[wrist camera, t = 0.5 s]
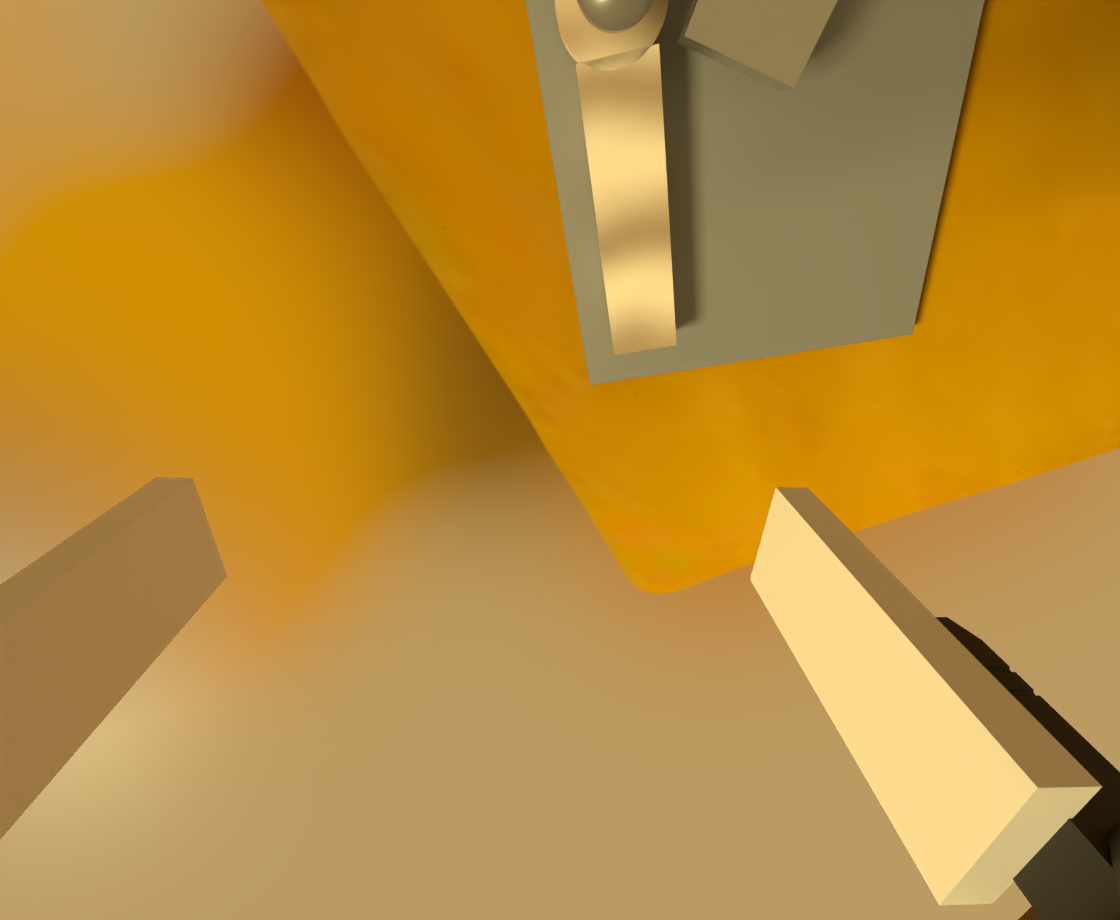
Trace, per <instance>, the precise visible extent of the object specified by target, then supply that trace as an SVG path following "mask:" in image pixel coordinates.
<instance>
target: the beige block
mask: <svg viewBox="0 0 1120 920" xmlns="http://www.w3.org/2000/svg"><path fill="white" fill-rule="evenodd" d="M653 1H654V0H577V3H578V5H579V8H580V10H581V12H582V14H583V15H584V17H585V18H586V20H587V21H588V22H589V23H590V24H591V25H592V26H594V27H595V28H596V29H598V30H600V31H602V32H605V33H610V34H617V33H622V32H625V31H628V30H629V29H631V28H633V27H634V26H636V25H637V24H638V23H639V22H640V21H641V20H642V19H643V18H644V16H645V15H646V14H647V12H648V11H649V9H650V7H651V5H652V3H653ZM837 1H838V0H693V3H692V5H691V8H690V11H689V13H688V16H687V19H686V22H685V24H684V27H683V30H682V32H681V35H680V38H679V40H678V44H681V45H683V46H685V47H687V48H689V49H691V50H693V51H695V52H697V53H700V54H702V55H704V56H706V57H708V58H710V59H712V60H714V61H716V62H719V63H721V64H723V65H725V66H727V67H729V68H731V69H733V70H735V71H738V72H740V73H742V74H744V75H746V76H748V77H750V78H752V79H754V80H756V81H759V82H761V83H763V84H765V85H767V86H769V87H771V88H773V89H775V90H778V91H780V92H781V91H786V90H790V89H794V88H795V86H796V84H797V82H798V80H799V78H800V75H801V73H802V71H803V69H804V67H805V65H806V63H807V61H808V59H809V57H810V55H811V53H812V51H813V49H814V47H815V45H816V43H817V41H818V39H819V37H820V35H821V33H822V31H823V29H824V27H825V25H826V23H827V21H828V19H829V17H830V15H831V13H832V11H833V9H834V7H835V5H836V3H837Z"/></svg>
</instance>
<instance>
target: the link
mask: <svg viewBox="0 0 1120 920" xmlns="http://www.w3.org/2000/svg"><path fill="white" fill-rule="evenodd" d="M668 1H669V0H654V1H653V3H652V5H651V7H650V9H649V11H648V12H647V14H646V15H645V16H644V18H643V19H642V20H641V21H640V22H639V23H638V24H637V25H636V26H634V27H633V28H631V29H629V30H628V31H625V32H622V33H617V34H610V33H605V32H602V31H600V30H598V29H596V28H595V27H594V26H592V25H591V24H590V23H589V22H588V21H587V20H586V18H585V17H584V15H583V14H582V12H581V10H580V8H579V5H578V3H577V0H555V10H556V17H557V22H558V27H559V32H560V36H561V39H562V42H563V44H564V46H565V48H566V50H567V52H568V54H569V55H570V56H571V58H572V59H573V60H574V61H575V62H576V63H577V64H576V74H577V81H578V89H579V96H580V104H581V111H582V119H583V126H584V134H585V142H586V149H587V157H588V164H589V172H590V179H591V187H592V194H593V202H594V209H595V217H596V225H597V232H598V240H599V247H600V255H601V262H602V270H603V277H604V285H605V292H606V300H607V307H608V315H609V323H610V330H611V338H612V345H613V351H614V355H620V354H626V353H632V352H638V351H644V350H650V349H656V348H662V347H668V346H674V345H676V328H675V310H674V293H673V275H672V258H671V241H670V223H669V206H668V189H667V171H666V154H665V137H664V119H663V102H662V85H661V67H660V50H659V44H655V45H652V44H653V43H654V41H655V40H656V38H657V36H658V34H659V32H660V30H661V28H662V25H663V23H664V19H665V16H666V12H667V7H668Z"/></svg>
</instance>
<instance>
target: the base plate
mask: <svg viewBox="0 0 1120 920" xmlns="http://www.w3.org/2000/svg"><path fill="white" fill-rule="evenodd" d="M692 3H693V0H669V1H668V7H667V12H666V16H665V19H664V23H663V25H662V28H661V30H660V32H659V34H658V36H657V38H656V40H655V41H654V43H653V44H652V45H655V44H659V50H660V67H661V85H662V102H663V119H664V137H665V154H666V171H667V189H668V206H669V223H670V241H671V258H672V275H673V293H674V310H675V328H676V345H674V346H668V347H662V348H656V349H650V350H644V351H638V352H632V353H626V354H620V355H614V351H613V345H612V338H611V330H610V323H609V315H608V307H607V300H606V292H605V285H604V277H603V270H602V262H601V255H600V247H599V240H598V232H597V225H596V217H595V209H594V202H593V194H592V187H591V179H590V172H589V164H588V157H587V149H586V142H585V134H584V126H583V119H582V111H581V104H580V96H579V89H578V81H577V74H576V64H577V63H576V62H575V61H574V60H573V59H572V58H571V56H570V55H569V54H568V52H567V50H566V48H565V46H564V44H563V42H562V39H561V36H560V32H559V27H558V22H557V17H556V10H555V0H526V4H527V10H528V16H529V22H530V28H531V34H532V40H533V46H534V52H535V58H536V64H537V70H538V76H539V82H540V88H541V94H542V100H543V106H544V112H545V118H546V124H547V130H548V136H549V142H550V148H551V154H552V160H553V166H554V172H555V178H556V184H557V190H558V196H559V202H560V208H561V214H562V220H563V226H564V232H565V238H566V244H567V250H568V256H569V262H570V268H571V274H572V280H573V286H574V292H575V298H576V304H577V310H578V316H579V322H580V328H581V334H582V340H583V346H584V352H585V358H586V364H587V370H588V376H589V382H590V385H594V384H600V383H607V382H613V381H619V380H626V379H632V378H638V377H645V376H651V375H657V374H664V373H670V372H676V371H683V370H689V369H695V368H702V367H708V366H714V365H721V364H727V363H733V362H740V361H746V360H752V359H759V358H765V357H771V356H778V355H784V354H790V353H797V352H803V351H809V350H816V349H822V348H829V347H835V346H841V345H848V344H854V343H860V342H867V341H873V340H879V339H886V338H892V337H898V336H905V335H911V334H913V329H914V324H915V320H916V315H917V310H918V306H919V301H920V297H921V292H922V287H923V283H924V278H925V273H926V269H927V264H928V260H929V255H930V250H931V246H932V241H933V236H934V232H935V227H936V222H937V218H938V213H939V209H940V204H941V199H942V195H943V190H944V185H945V181H946V176H947V172H948V167H949V162H950V158H951V153H952V148H953V144H954V139H955V134H956V130H957V125H958V121H959V116H960V111H961V107H962V102H963V97H964V93H965V88H966V84H967V79H968V74H969V70H970V65H971V60H972V56H973V51H974V46H975V42H976V37H977V33H978V28H979V23H980V19H981V14H982V9H983V5H984V0H838V1H837V3H836V5H835V7H834V9H833V11H832V13H831V15H830V17H829V19H828V21H827V23H826V25H825V27H824V29H823V31H822V33H821V35H820V37H819V39H818V41H817V43H816V45H815V47H814V49H813V51H812V53H811V55H810V57H809V59H808V61H807V63H806V65H805V67H804V69H803V71H802V73H801V75H800V78H799V80H798V82H797V84H796V86H795V88H794V89H790V90H786V91H781V92H780V91H778V90H775V89H773V88H771V87H769V86H767V85H765V84H763V83H761V82H759V81H756V80H754V79H752V78H750V77H748V76H746V75H744V74H742V73H740V72H738V71H735V70H733V69H731V68H729V67H727V66H725V65H723V64H721V63H719V62H716V61H714V60H712V59H710V58H708V57H706V56H704V55H702V54H700V53H697V52H695V51H693V50H691V49H689V48H687V47H685V46H683V45H681V44H678V40H679V38H680V35H681V32H682V30H683V27H684V24H685V22H686V19H687V16H688V13H689V11H690V8H691V5H692Z"/></svg>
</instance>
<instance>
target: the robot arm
mask: <svg viewBox="0 0 1120 920" xmlns="http://www.w3.org/2000/svg"><path fill="white" fill-rule="evenodd" d="M226 577H227V575H226V573H225V570H224V567H223V564H222V561H221V558H220V555H219V552H218V549H217V547H216V544H215V541H214V538H213V535H212V532H211V529H210V527H209V523H208V521H207V518H206V515H205V512H204V509H203V506H202V503H201V501H200V498H199V495H198V492H197V489H196V486H195V483H194V480H193V478H155V479H154V480H152V481H151V482H149V483H148V484H146V485H145V486H143V487H142V488H140V489H139V490H137V491H136V492H135V493H133V494H132V495H130V496H129V497H127V498H126V499H124V500H123V501H121V502H120V503H118V504H117V505H116V506H114V507H113V508H111V509H110V510H108V511H107V512H106V513H104V514H102V515H101V516H100V517H98V518H97V519H95V520H94V521H92V522H91V523H89V524H88V525H87V526H85V527H84V528H82V529H81V530H79V531H78V532H76V533H75V534H73V535H72V536H70V537H69V538H68V539H66V540H65V541H63V542H62V543H60V544H59V545H57V546H56V547H54V548H53V549H52V550H50V551H49V552H47V553H46V554H44V555H43V556H41V557H40V558H39V559H37V560H36V561H34V562H33V563H31V564H30V565H28V566H27V567H25V568H24V569H23V570H21V571H20V572H18V573H17V574H15V575H14V576H12V577H11V578H9V579H8V580H6V581H5V582H4V583H2V584H1V585H0V839H1V838H2V837H3V835H4V834H5V833H6V832H7V831H8V830H9V829H10V827H11V826H12V825H13V824H14V823H15V822H16V821H17V819H18V818H19V817H20V816H21V815H22V814H23V812H24V811H25V810H26V809H27V808H28V806H29V805H30V804H31V803H32V802H33V801H34V800H35V798H36V797H37V796H38V795H39V794H40V793H41V792H42V790H43V789H44V788H45V787H46V785H48V783H49V782H50V781H51V780H52V779H53V778H54V776H55V775H56V774H57V773H58V772H59V770H60V769H61V768H62V767H63V766H64V765H65V764H66V763H67V761H68V760H69V759H70V758H71V757H72V756H73V754H74V753H75V752H76V751H77V750H78V748H79V747H80V746H81V745H82V744H83V743H84V741H85V740H86V739H87V738H88V737H89V736H90V735H91V733H92V732H93V731H94V730H95V729H96V727H97V726H98V725H99V724H100V723H101V722H102V721H103V720H104V718H105V717H106V716H107V715H108V714H109V713H110V711H111V710H112V709H113V708H114V707H115V706H116V705H117V703H118V702H119V701H120V700H121V699H122V697H123V696H124V695H125V694H126V693H127V692H128V691H129V689H130V688H131V687H132V686H133V685H134V684H135V682H136V681H137V680H138V679H139V678H140V677H141V676H142V674H143V673H144V672H145V671H146V670H147V669H148V667H149V666H150V665H151V664H152V663H153V661H154V660H155V659H156V658H157V657H158V656H159V655H160V653H161V652H162V651H163V650H164V649H165V647H166V646H167V645H168V644H169V643H170V642H171V641H172V639H173V638H174V637H175V636H176V635H177V634H178V633H179V631H180V630H181V629H182V628H183V627H184V626H185V624H186V623H187V622H188V621H189V620H190V619H191V617H192V616H193V615H194V614H195V613H196V612H197V611H198V609H199V608H200V607H201V606H202V605H203V604H204V602H205V601H206V600H207V599H208V598H209V597H210V595H211V594H212V593H213V592H214V591H215V590H216V588H217V587H218V586H219V585H220V584H221V583H222V582H223V580H224V579H225V578H226ZM750 580H751V582H752V583H753V585H754V587H755V589H756V590H757V592H758V594H759V595H760V597H761V599H762V601H763V602H764V604H765V606H766V607H767V609H768V611H769V613H770V614H771V616H772V618H773V619H774V621H775V623H776V624H777V626H778V628H779V630H780V632H781V633H782V635H783V637H784V638H785V640H786V642H787V643H788V645H789V647H790V649H791V650H792V652H793V654H794V656H795V657H796V659H797V661H798V663H799V664H800V666H801V668H802V669H803V671H804V673H805V675H806V676H807V678H808V680H809V681H810V683H811V685H812V687H813V688H814V690H815V692H816V693H817V695H818V697H819V699H820V700H821V702H822V704H823V705H824V707H825V709H826V711H827V712H828V714H829V716H830V717H831V719H832V721H833V723H834V724H835V726H836V728H837V730H838V731H839V733H840V735H841V737H842V738H843V740H844V742H845V743H846V745H847V747H848V749H849V750H850V752H851V754H852V755H853V757H854V759H855V761H856V762H857V764H858V766H859V768H860V769H861V771H862V773H863V774H864V776H865V778H866V780H867V781H868V783H869V785H870V786H871V788H872V790H873V792H874V793H875V795H876V797H877V799H878V800H879V802H880V804H881V805H882V807H883V809H884V811H885V812H886V814H887V816H888V817H889V819H890V821H891V822H892V824H893V826H894V828H895V829H896V831H897V833H898V835H899V836H900V838H901V840H902V842H903V843H904V845H905V846H906V848H907V850H908V852H909V854H910V855H911V857H912V859H913V860H914V862H915V864H916V866H917V867H918V869H919V871H920V872H921V874H922V876H923V877H924V879H925V881H926V883H927V885H928V886H929V888H930V890H931V891H932V893H933V895H934V897H935V898H936V900H937V902H938V903H939V905H961V904H962V905H963V904H993V903H994V901H995V900H996V899H997V898H998V897H999V896H1000V895H1001V894H1002V893H1003V892H1004V891H1005V890H1006V889H1007V888H1008V887H1009V886H1010V884H1011V883H1012V882H1013V881H1014V882H1015V883H1016V884H1017V886H1018V887H1019V889H1020V890H1021V891H1022V893H1023V894H1024V896H1025V897H1026V898H1027V900H1028V901H1029V903H1030V904H1031V905H1032V907H1031V908H1030V909H1029V910H1028V911H1027V912H1026V913H1025V914H1024V915H1023V916H1022V917H1021V918H1019V919H1018V920H1120V772H1119V771H1118V770H1117V769H1116V768H1114V766H1113V765H1111V764H1110V763H1109V762H1108V761H1107V760H1106V759H1105V758H1104V757H1103V756H1102V755H1101V754H1100V753H1099V752H1098V751H1097V750H1096V749H1095V748H1094V747H1093V746H1092V745H1091V744H1090V743H1089V742H1088V741H1086V740H1085V739H1084V738H1083V737H1082V736H1081V735H1080V734H1079V733H1078V732H1077V731H1076V730H1075V729H1074V728H1073V727H1072V726H1071V725H1070V724H1069V723H1068V722H1067V721H1066V720H1065V719H1063V718H1062V717H1061V716H1060V715H1059V714H1058V713H1057V712H1056V711H1055V710H1054V709H1053V708H1052V707H1051V706H1050V705H1049V704H1048V703H1047V702H1046V701H1045V700H1044V699H1043V698H1042V697H1041V696H1036V695H1035V694H1034V693H1033V689H1032V688H1031V687H1030V686H1029V685H1028V684H1027V683H1026V682H1025V681H1024V680H1023V679H1022V678H1021V677H1020V676H1019V675H1018V674H1017V673H1015V672H1011V671H1010V669H1009V666H1008V665H1007V664H1006V663H1005V662H1004V661H1003V660H1002V659H1001V658H1000V657H999V656H998V655H997V654H995V652H993V650H992V649H990V647H988V646H987V645H986V644H985V643H984V642H983V641H982V640H981V639H979V638H977V637H976V636H974V635H973V634H972V633H970V632H969V631H967V630H966V629H964V628H963V627H961V626H960V625H958V624H957V623H955V622H953V621H952V620H950V619H949V618H947V617H934V615H933V614H932V613H931V612H930V611H929V610H928V609H927V608H926V607H925V606H924V605H923V604H922V603H921V602H920V601H919V600H918V599H917V598H916V597H915V596H914V595H913V594H912V593H911V592H910V591H909V590H908V589H907V588H906V587H905V586H904V585H903V584H902V583H901V582H900V581H899V580H898V579H897V578H896V577H895V576H894V575H893V574H892V573H891V572H890V571H889V570H888V569H887V568H886V567H885V566H884V565H883V564H882V563H881V562H880V561H879V560H878V559H877V558H876V557H875V556H874V555H873V554H872V553H871V552H870V551H869V549H868V548H867V547H865V545H864V544H863V543H862V542H861V541H860V540H859V539H858V538H857V537H856V536H854V534H853V533H852V532H851V531H850V530H849V529H848V528H847V527H846V526H845V525H844V524H843V523H842V522H841V521H840V520H839V519H838V518H837V517H836V516H835V515H834V514H833V513H832V512H831V511H830V510H829V509H828V508H827V507H826V506H825V505H824V504H823V503H822V502H821V501H820V500H819V499H818V498H817V497H816V496H815V495H814V494H813V493H812V492H811V491H810V490H809V489H808V488H786V487H776V489H775V492H774V496H773V500H772V503H771V507H770V510H769V514H768V517H767V521H766V524H765V528H764V532H763V535H762V539H761V542H760V546H759V549H758V553H757V556H756V560H755V564H754V567H753V571H752V574H751V578H750Z"/></svg>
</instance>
